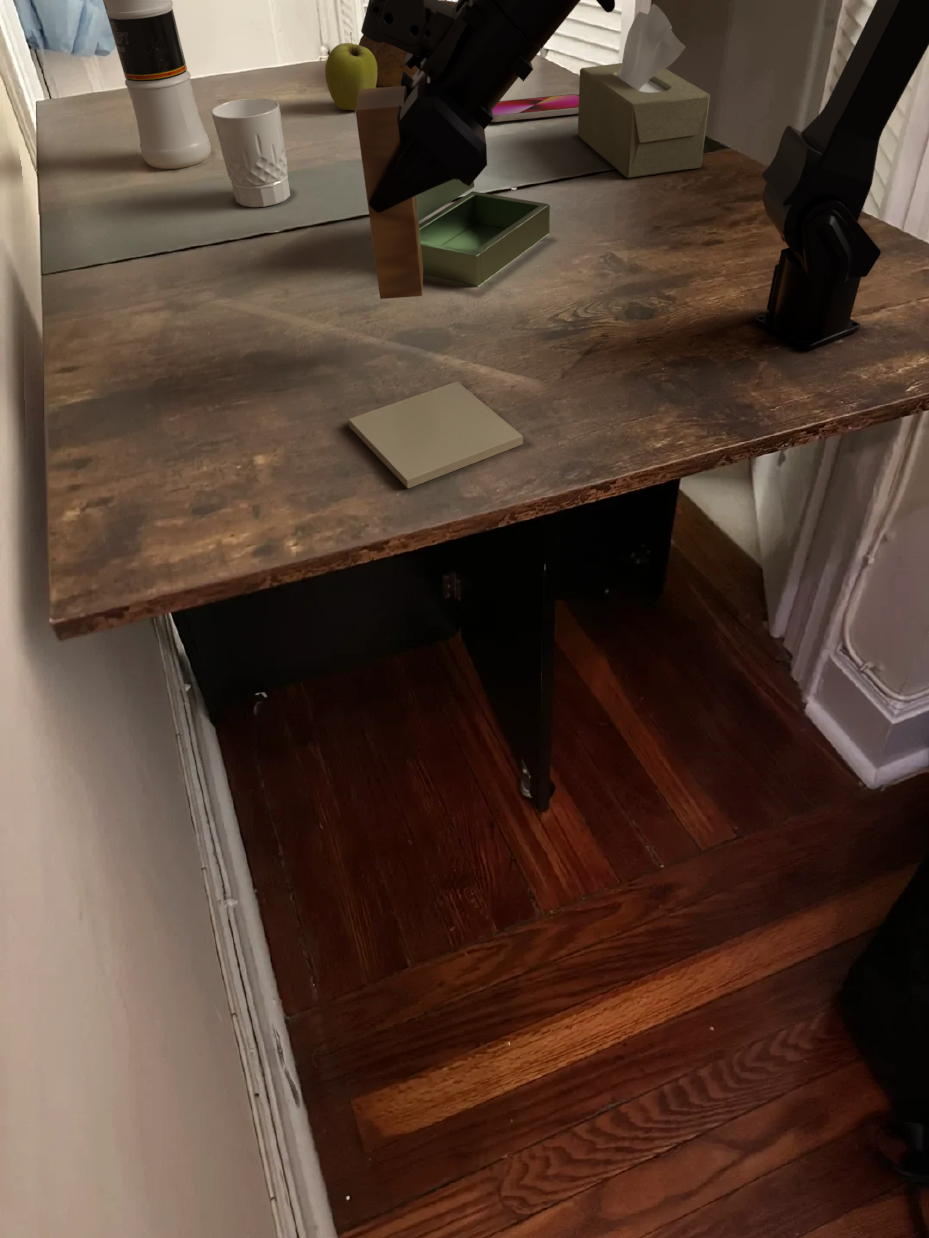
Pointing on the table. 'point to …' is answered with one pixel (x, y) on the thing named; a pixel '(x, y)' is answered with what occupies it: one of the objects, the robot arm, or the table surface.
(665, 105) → the tissue box
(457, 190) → the flat green panel
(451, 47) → the robot arm
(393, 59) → the bread
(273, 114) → the white cup
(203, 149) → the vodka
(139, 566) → the table surface
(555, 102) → the smartphone
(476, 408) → the tile
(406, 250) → the wooden block
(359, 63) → the apple
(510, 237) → the green box
